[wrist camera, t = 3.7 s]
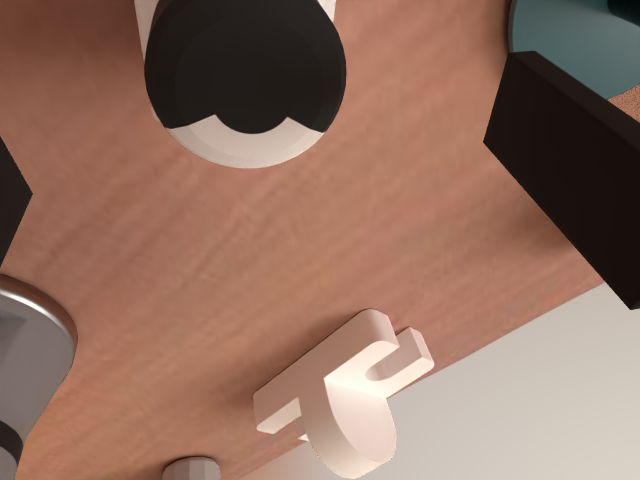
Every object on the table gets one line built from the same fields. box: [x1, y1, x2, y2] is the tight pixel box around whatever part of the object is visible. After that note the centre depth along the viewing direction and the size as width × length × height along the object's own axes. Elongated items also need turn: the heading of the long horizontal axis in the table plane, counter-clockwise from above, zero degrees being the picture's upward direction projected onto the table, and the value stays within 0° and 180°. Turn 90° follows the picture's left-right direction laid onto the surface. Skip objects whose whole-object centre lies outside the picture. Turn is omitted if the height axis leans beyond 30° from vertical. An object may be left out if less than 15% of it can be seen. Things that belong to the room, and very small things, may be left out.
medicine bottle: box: [134, 0, 346, 168], centre depth 17 cm, size 7×7×12 cm
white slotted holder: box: [253, 309, 434, 479], centre depth 44 cm, size 10×18×11 cm, turn 135°
